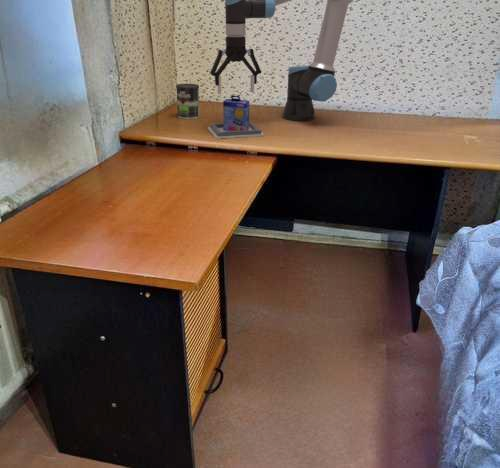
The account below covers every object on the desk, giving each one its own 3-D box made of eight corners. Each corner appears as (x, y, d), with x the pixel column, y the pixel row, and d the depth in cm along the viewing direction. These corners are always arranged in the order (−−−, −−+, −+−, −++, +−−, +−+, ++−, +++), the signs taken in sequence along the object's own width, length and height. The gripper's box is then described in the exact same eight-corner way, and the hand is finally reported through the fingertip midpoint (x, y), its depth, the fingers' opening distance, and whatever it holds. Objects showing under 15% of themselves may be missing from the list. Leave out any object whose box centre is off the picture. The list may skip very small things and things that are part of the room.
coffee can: (193, 120, 217) (192, 88, 210) (173, 117, 220) (171, 86, 214) (203, 115, 225) (203, 84, 219) (184, 113, 229) (183, 82, 222)
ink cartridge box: (222, 130, 198) (222, 95, 191) (227, 127, 202) (227, 92, 196) (245, 133, 195) (245, 97, 189) (249, 130, 200) (250, 94, 193)
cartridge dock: (252, 126, 208) (252, 121, 207) (264, 136, 195) (264, 130, 194) (207, 129, 203) (207, 123, 202) (215, 139, 189) (215, 133, 188)
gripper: (263, 34, 188) (262, 89, 198) (201, 35, 182) (203, 92, 192) (269, 36, 182) (268, 93, 192) (205, 37, 176) (207, 96, 185)
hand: (236, 93), depth 192 cm, fingers open, 13 cm apart
